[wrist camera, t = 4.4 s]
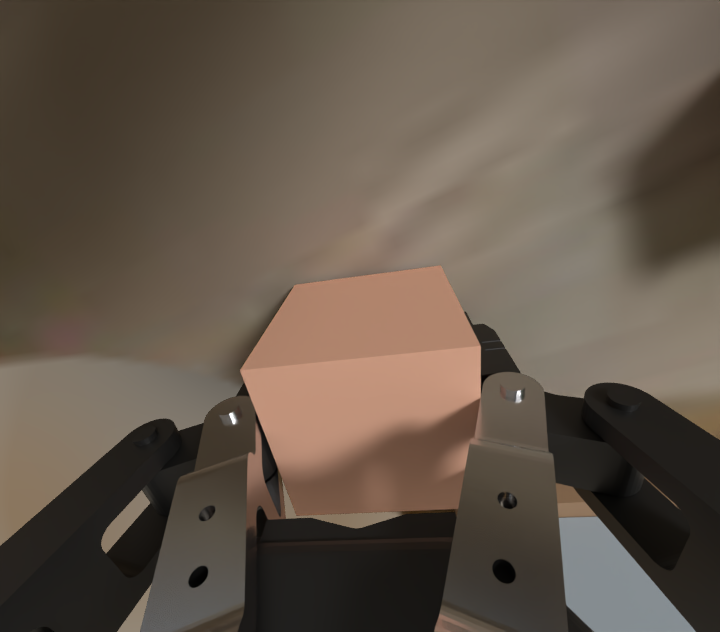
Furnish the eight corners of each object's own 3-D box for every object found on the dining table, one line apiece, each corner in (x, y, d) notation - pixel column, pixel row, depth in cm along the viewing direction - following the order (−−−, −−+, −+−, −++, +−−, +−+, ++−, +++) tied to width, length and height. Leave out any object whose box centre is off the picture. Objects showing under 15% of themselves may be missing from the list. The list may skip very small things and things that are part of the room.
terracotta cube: (294, 284, 12) (239, 370, 7) (440, 265, 11) (480, 345, 6) (324, 396, 14) (296, 515, 9) (447, 385, 13) (480, 507, 9)
